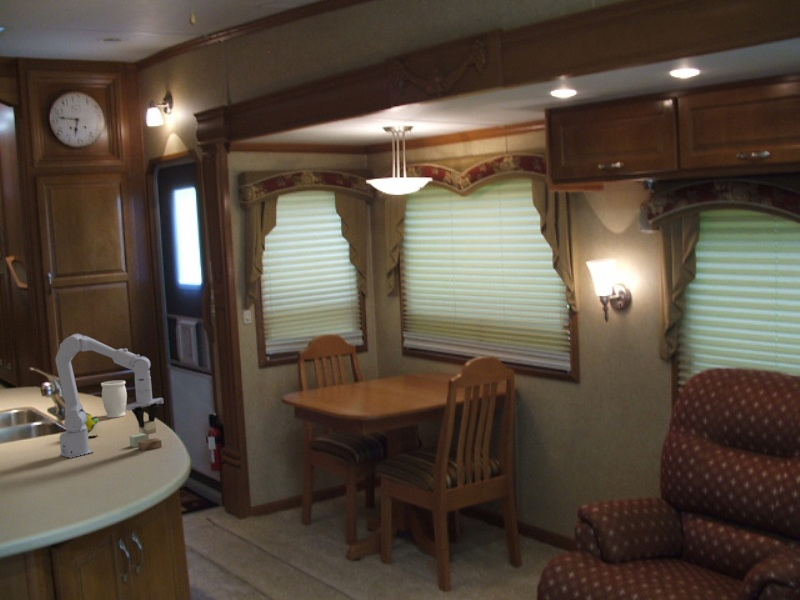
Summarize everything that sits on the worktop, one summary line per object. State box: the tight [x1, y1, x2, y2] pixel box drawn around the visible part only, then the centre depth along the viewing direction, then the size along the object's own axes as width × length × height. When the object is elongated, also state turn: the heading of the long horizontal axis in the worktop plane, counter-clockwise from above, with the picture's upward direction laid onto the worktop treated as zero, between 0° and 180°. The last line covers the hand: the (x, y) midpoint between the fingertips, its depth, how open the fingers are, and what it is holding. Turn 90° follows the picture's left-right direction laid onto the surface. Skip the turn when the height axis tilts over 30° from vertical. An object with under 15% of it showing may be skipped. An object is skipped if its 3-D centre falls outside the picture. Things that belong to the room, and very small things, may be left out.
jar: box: [100, 379, 128, 419], centre depth 395 cm, size 11×10×15 cm
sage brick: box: [129, 433, 150, 448], centre depth 342 cm, size 6×4×4 cm, turn 135°
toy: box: [85, 412, 100, 438], centre depth 369 cm, size 9×10×30 cm
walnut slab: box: [137, 437, 163, 452], centre depth 336 cm, size 7×5×3 cm
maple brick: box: [138, 419, 157, 435], centre depth 335 cm, size 6×4×4 cm, turn 46°
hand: (146, 425), depth 335 cm, fingers closed on maple brick, 3 cm apart
